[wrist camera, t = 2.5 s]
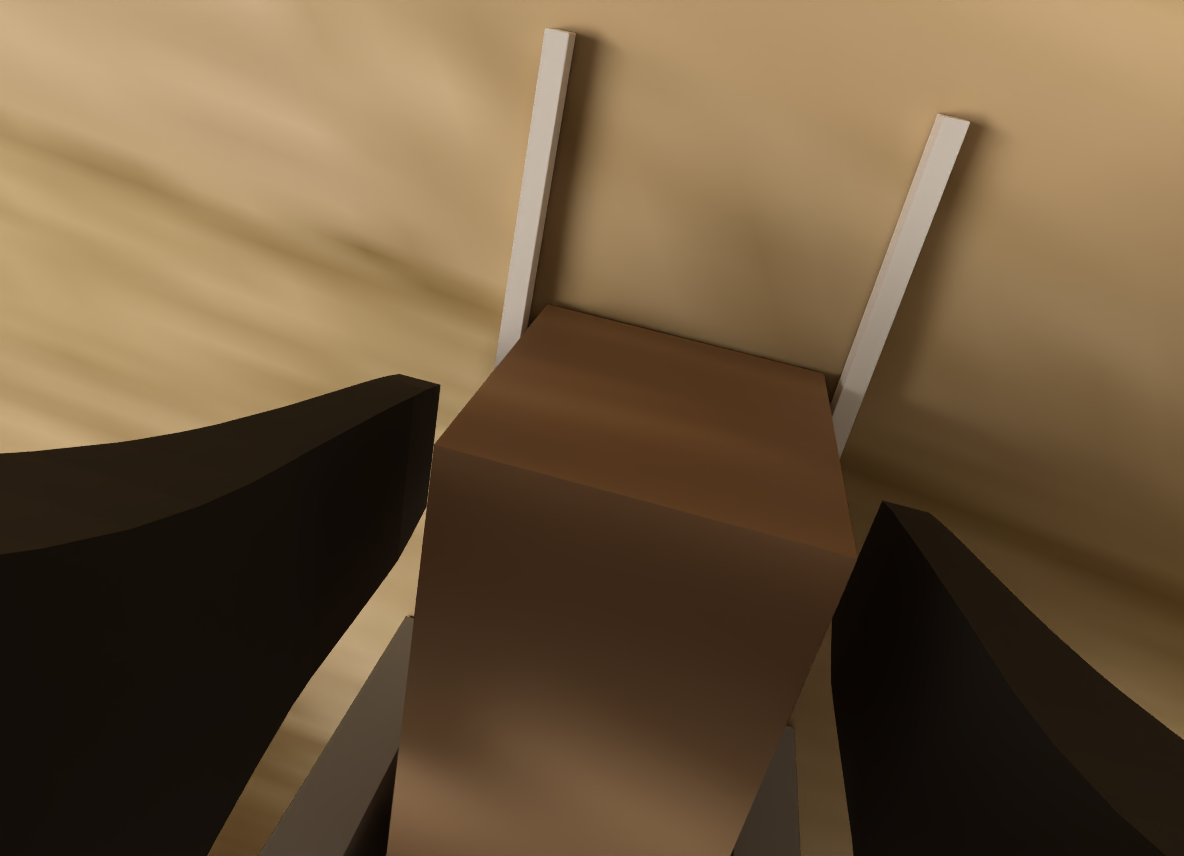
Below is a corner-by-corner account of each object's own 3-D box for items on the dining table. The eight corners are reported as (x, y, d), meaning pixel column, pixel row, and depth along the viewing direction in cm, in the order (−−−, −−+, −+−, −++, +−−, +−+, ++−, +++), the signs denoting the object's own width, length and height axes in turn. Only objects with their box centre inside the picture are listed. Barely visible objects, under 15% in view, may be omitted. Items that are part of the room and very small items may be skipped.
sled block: (617, 950, 18) (576, 1216, 14) (443, 895, 18) (353, 1139, 14) (824, 373, 11) (857, 558, 7) (547, 304, 12) (433, 444, 8)
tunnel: (684, 981, 18) (646, 1430, 12) (376, 883, 18) (201, 1267, 13) (1051, 139, 10) (1483, 290, 4) (472, 10, 10) (95, -25, 4)
